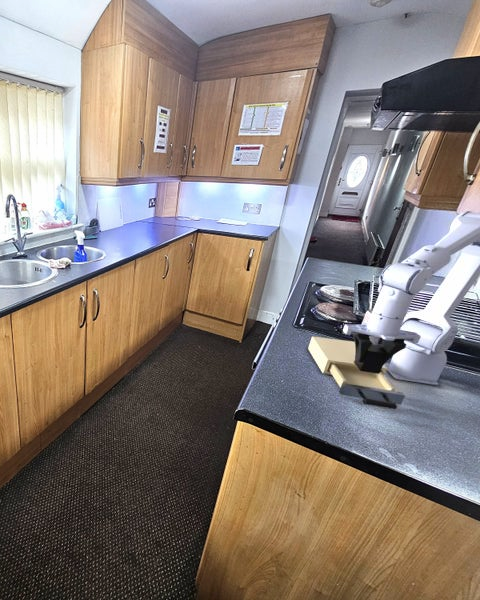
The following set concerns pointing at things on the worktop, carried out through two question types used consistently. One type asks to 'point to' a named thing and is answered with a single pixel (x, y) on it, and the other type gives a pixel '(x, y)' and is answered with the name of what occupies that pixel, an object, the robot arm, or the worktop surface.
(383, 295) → the robot arm
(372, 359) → the black block
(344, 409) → the worktop surface
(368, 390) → the drawer
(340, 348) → the pale yellow drawer box
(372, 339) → the energy drink
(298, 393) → the worktop surface
